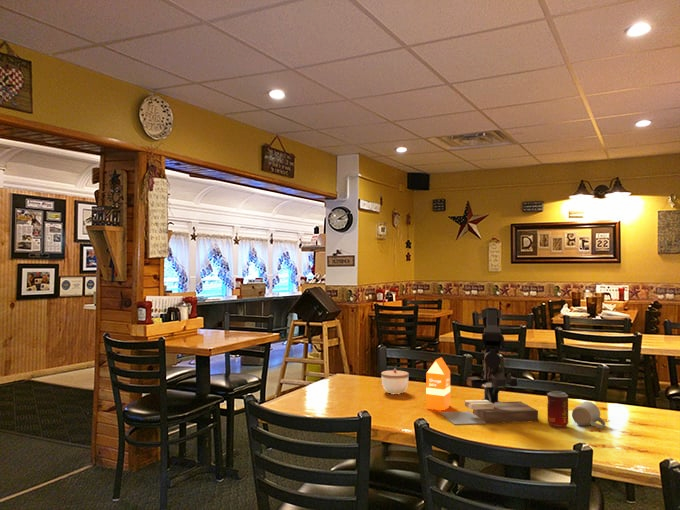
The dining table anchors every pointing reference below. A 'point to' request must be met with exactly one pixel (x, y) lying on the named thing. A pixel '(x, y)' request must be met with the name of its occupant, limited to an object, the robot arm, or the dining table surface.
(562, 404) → the soda can
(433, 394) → the orange juice
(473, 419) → the rubber mat
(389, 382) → the lidded bowl
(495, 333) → the robot arm
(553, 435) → the dining table surface
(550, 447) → the dining table surface
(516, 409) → the walnut stand
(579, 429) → the dining table surface
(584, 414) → the ceramic mug
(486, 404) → the number block
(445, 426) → the dining table surface
